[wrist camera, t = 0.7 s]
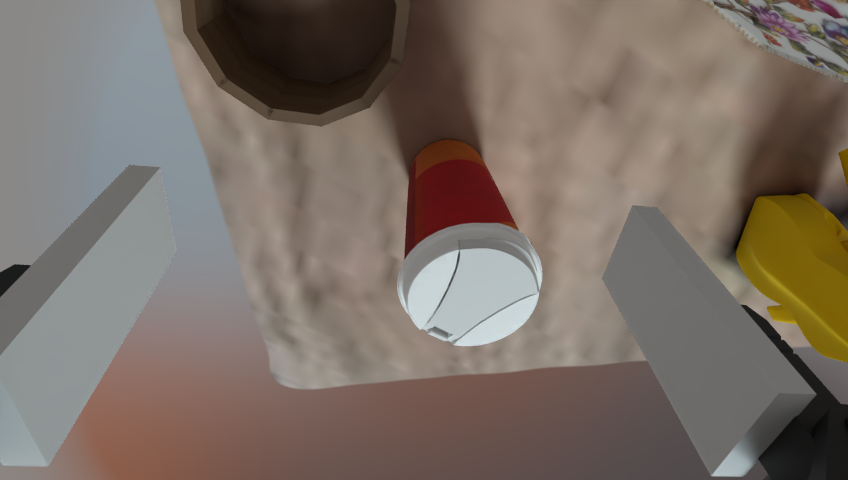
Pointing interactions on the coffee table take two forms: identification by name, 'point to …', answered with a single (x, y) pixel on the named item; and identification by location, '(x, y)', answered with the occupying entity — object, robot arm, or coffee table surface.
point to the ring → (272, 89)
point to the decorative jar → (794, 30)
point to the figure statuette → (801, 266)
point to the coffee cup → (464, 251)
